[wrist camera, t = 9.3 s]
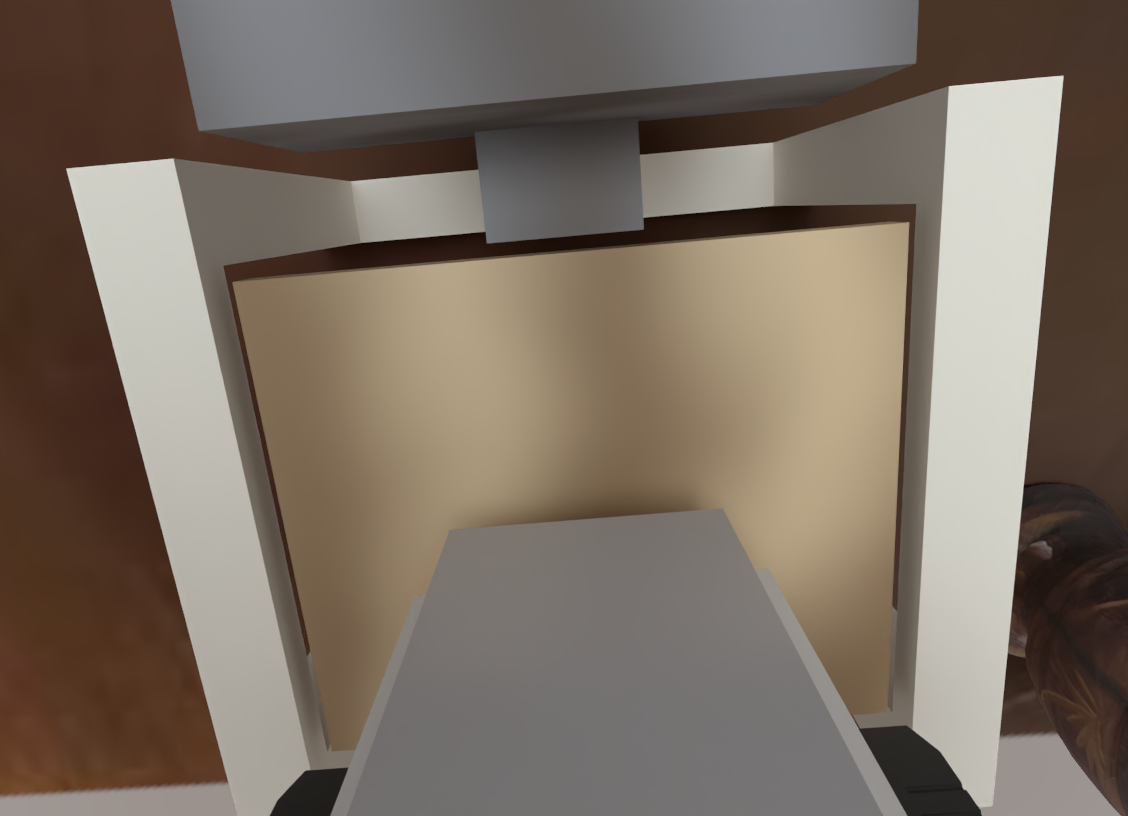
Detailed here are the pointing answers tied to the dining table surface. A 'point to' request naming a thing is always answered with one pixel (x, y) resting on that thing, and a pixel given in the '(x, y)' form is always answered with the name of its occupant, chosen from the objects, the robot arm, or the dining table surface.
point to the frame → (669, 187)
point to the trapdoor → (567, 309)
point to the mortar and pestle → (1076, 626)
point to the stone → (605, 683)
